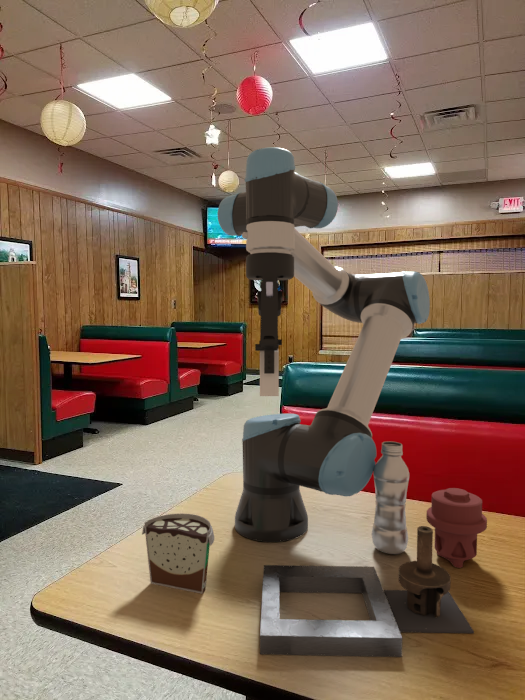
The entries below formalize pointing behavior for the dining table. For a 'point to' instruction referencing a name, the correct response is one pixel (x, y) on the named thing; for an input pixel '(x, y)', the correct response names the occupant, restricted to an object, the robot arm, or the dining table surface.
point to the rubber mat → (413, 622)
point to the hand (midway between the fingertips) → (269, 389)
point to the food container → (178, 550)
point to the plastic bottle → (390, 500)
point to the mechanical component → (456, 524)
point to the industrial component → (424, 577)
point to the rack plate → (327, 634)
